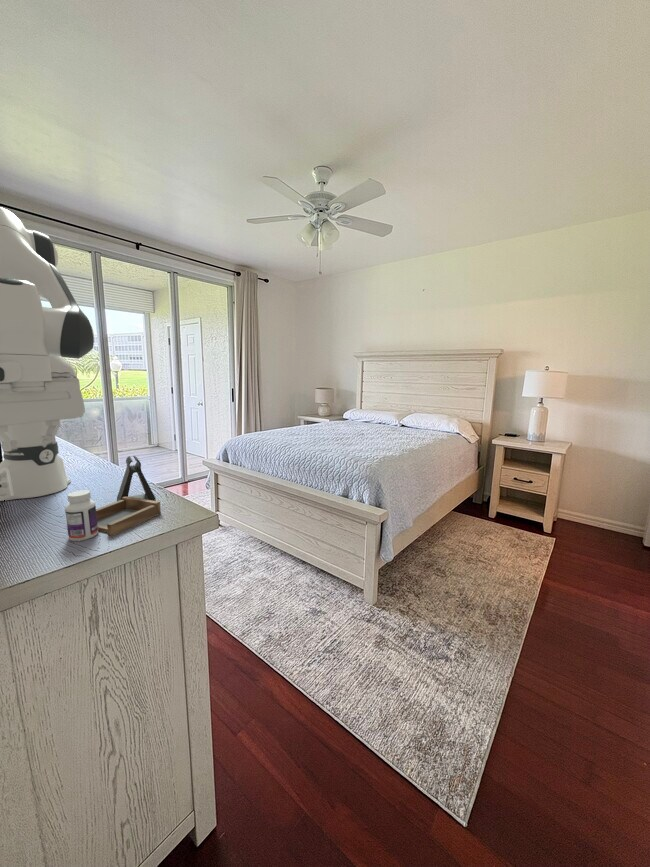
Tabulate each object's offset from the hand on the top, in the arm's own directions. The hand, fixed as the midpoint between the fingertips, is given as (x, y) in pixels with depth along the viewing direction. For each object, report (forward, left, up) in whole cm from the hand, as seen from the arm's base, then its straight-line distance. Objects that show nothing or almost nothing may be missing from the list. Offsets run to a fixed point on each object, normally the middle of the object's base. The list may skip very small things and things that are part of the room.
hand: (30, 447), depth 66 cm
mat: (0, +17, -21) cm, 27 cm away
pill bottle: (0, +8, -21) cm, 23 cm away
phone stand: (-8, +29, -21) cm, 37 cm away
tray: (0, +17, -21) cm, 27 cm away
